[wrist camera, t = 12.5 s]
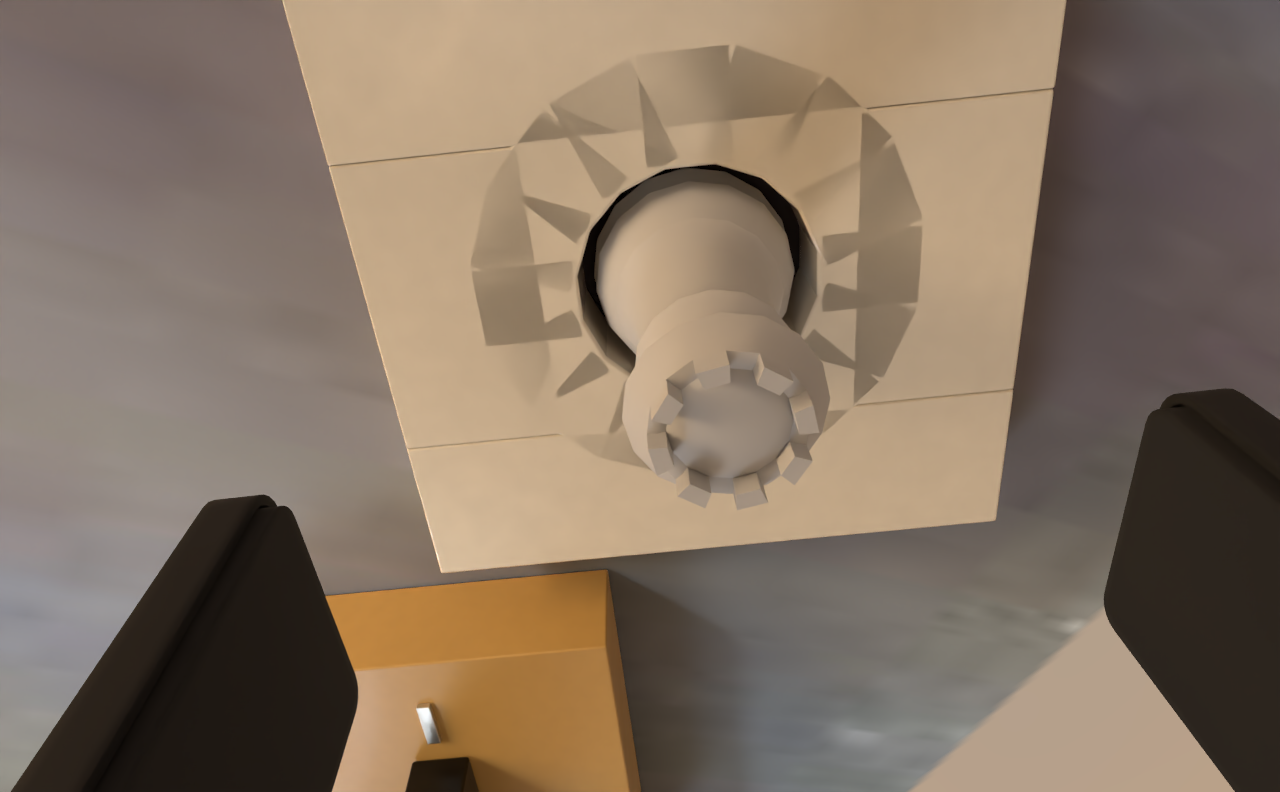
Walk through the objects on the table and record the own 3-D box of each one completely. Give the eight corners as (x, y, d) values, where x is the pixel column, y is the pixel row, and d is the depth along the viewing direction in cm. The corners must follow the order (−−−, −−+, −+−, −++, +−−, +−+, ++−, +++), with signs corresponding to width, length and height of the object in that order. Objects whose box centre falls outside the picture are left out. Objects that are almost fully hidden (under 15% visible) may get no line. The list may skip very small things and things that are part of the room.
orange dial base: (262, 601, 24) (215, 687, 21) (607, 568, 23) (606, 651, 21) (369, 853, 29) (343, 947, 27) (647, 829, 29) (650, 922, 26)
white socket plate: (235, -320, 14) (180, -359, 12) (1066, -421, 14) (1132, -476, 12) (454, 525, 23) (440, 574, 21) (966, 476, 22) (996, 521, 20)
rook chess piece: (826, 245, 19) (949, 420, 12) (698, 379, 21) (741, 603, 14) (680, 118, 18) (723, 232, 11) (554, 273, 19) (519, 461, 12)
